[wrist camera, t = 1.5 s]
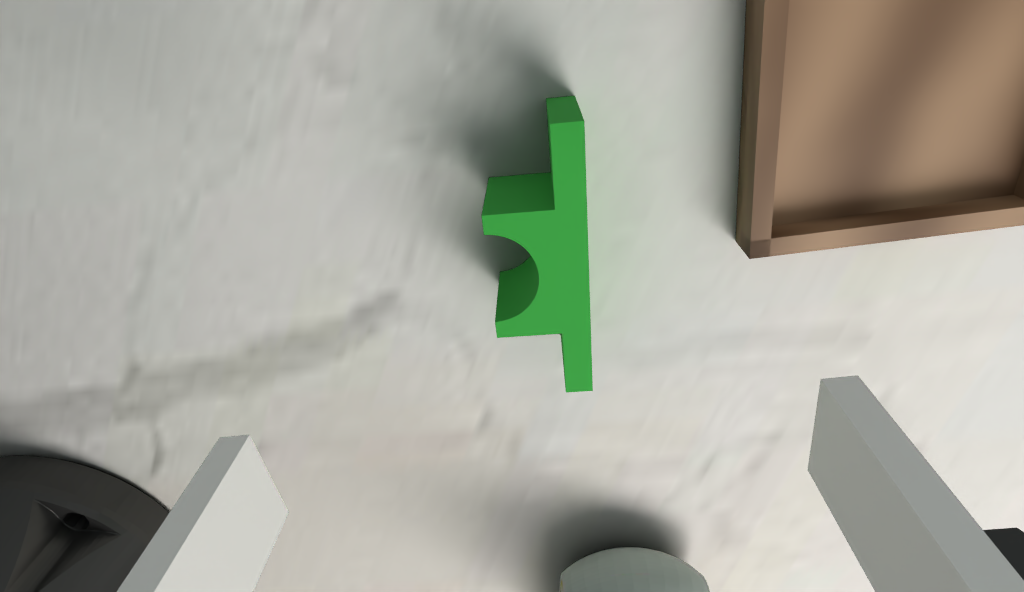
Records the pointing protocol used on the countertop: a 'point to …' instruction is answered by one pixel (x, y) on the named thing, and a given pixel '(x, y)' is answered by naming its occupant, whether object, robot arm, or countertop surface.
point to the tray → (879, 122)
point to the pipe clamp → (548, 245)
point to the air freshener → (631, 573)
